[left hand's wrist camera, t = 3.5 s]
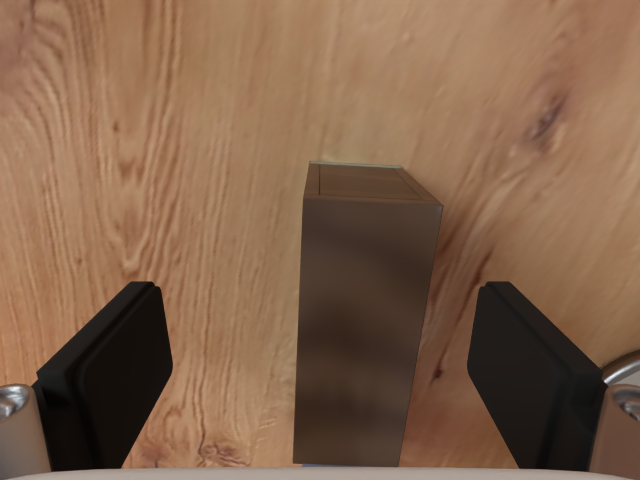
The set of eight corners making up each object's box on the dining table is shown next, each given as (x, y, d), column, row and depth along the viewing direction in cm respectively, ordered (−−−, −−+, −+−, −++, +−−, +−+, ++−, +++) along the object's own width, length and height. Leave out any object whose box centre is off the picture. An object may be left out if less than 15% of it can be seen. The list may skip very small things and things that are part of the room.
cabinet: (375, 359, 34) (398, 468, 24) (300, 355, 34) (292, 463, 24) (400, 166, 28) (444, 204, 18) (309, 161, 28) (302, 197, 18)
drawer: (360, 444, 36) (372, 547, 28) (303, 441, 36) (298, 544, 28) (387, 223, 28) (414, 276, 20) (314, 220, 28) (312, 271, 20)
